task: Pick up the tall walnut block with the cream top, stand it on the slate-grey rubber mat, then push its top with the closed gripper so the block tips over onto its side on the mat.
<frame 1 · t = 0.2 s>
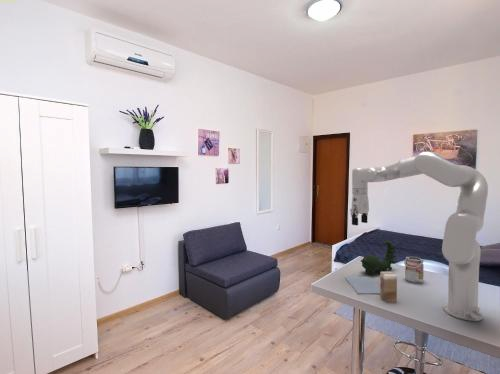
hand: (359, 223, 143), 31 cm above the table, tool pointing down, fingers open, 9 cm apart
rubber mat: (364, 285, 138), on the table
beverage can: (413, 281, 143), on the table
toy figurine: (377, 273, 156), on the table
walnut block: (388, 299, 123), on the table
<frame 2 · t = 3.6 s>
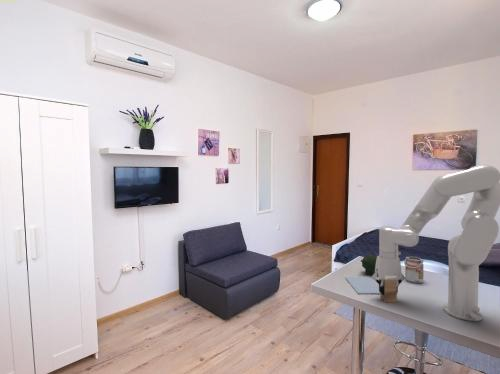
hand: (388, 293, 122), 3 cm above the table, tool pointing down, fingers closed on walnut block, 5 cm apart
walnut block: (388, 299, 123), on the table, touching gripper
everything else where it was.
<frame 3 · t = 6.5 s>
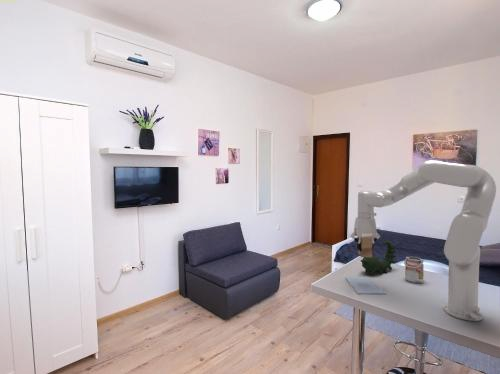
hand: (365, 250, 138), 18 cm above the table, tool pointing down, fingers closed on walnut block, 5 cm apart
walnut block: (365, 255, 139), point 15 cm above the table, touching gripper
everything else where it was.
when the fingers open (5 cm above the table, at t = 9.7 s): walnut block drops 1 cm, resting on rubber mat.
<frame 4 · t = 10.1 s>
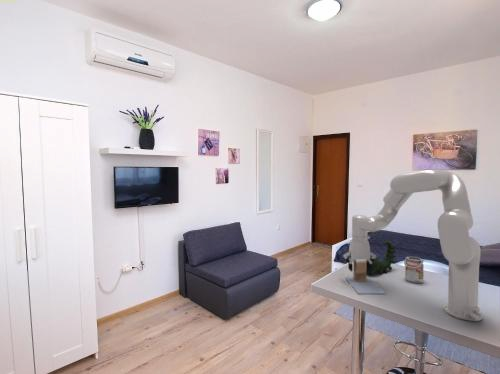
hand: (359, 270, 144), 6 cm above the table, tool pointing down, fingers open, 9 cm apart
walnut block: (359, 279, 144), point 1 cm above the table, touching rubber mat
everything else where it was.
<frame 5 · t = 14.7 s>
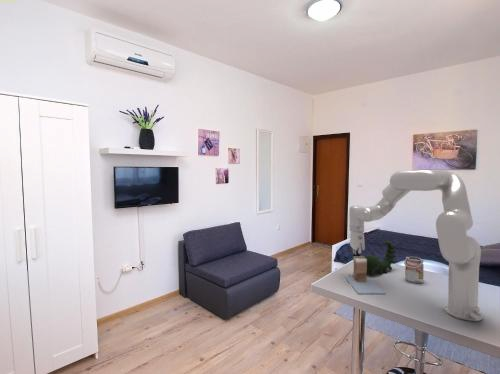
hand: (356, 261, 148), 9 cm above the table, tool pointing down, fingers closed
walnut block: (359, 279, 144), point 1 cm above the table, touching gripper, rubber mat
everything else where it was.
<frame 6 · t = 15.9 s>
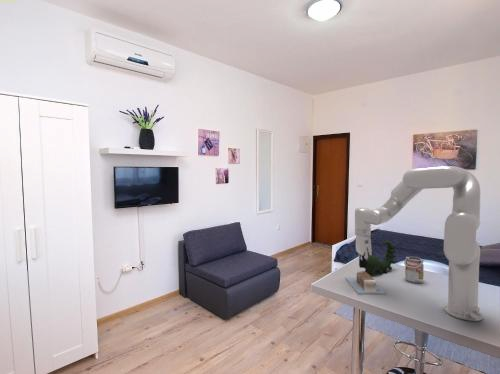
hand: (362, 267, 140), 9 cm above the table, tool pointing down, fingers closed
walnut block: (361, 277, 141), point 3 cm above the table, tilted 90°, touching rubber mat
everything else where it was.
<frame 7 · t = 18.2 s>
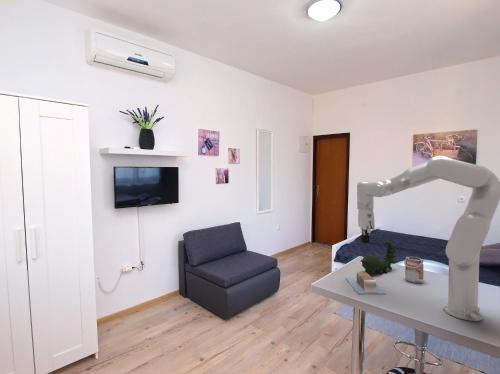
hand: (365, 242, 136), 23 cm above the table, tool pointing down, fingers closed
nothing on the table moved.
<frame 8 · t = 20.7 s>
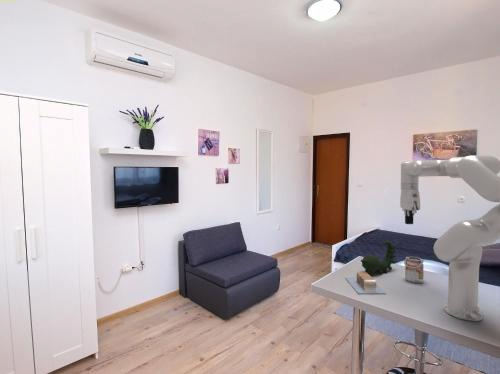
hand: (409, 223, 133), 32 cm above the table, tool pointing down, fingers closed
nothing on the table moved.
at the end: walnut block tilted 90°; walnut block inside the target area on the rubber mat (0.9 cm from its centre), point 3.1 cm above the rubber mat's base; the gripper is holding nothing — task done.
